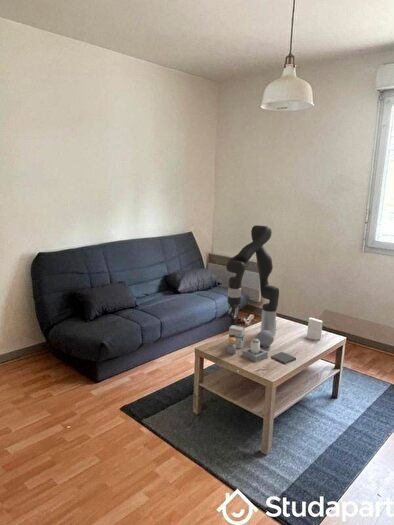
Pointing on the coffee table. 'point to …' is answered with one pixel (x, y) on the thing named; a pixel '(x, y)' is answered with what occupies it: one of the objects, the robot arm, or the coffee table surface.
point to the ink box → (237, 335)
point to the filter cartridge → (255, 346)
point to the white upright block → (314, 328)
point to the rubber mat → (283, 357)
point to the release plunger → (232, 340)
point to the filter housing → (247, 353)
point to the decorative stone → (265, 338)
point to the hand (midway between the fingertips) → (233, 324)
